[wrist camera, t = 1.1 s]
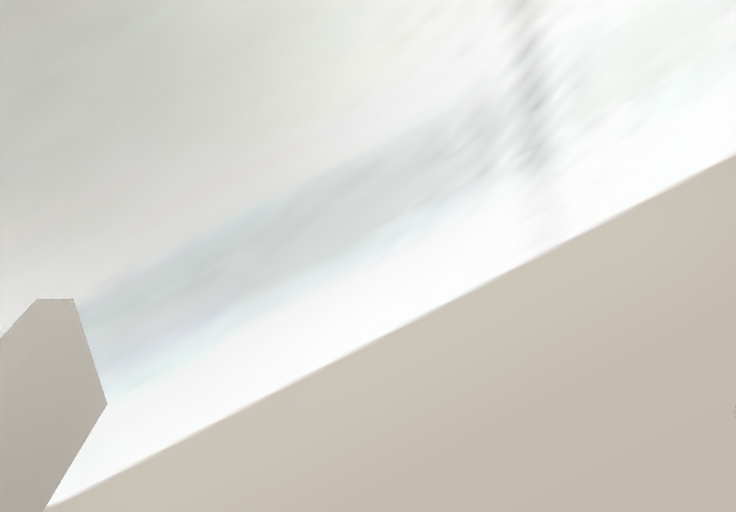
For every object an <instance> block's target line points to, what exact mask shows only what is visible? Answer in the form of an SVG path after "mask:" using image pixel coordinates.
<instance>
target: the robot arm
mask: <svg viewBox="0 0 736 512" xmlns="http://www.w3.org/2000/svg"><path fill="white" fill-rule="evenodd" d="M106 405H107V402H106V399H105V396H104V393H103V390H102V387H101V383H100V380H99V377H98V374H97V371H96V368H95V365H94V362H93V359H92V356H91V353H90V349H89V346H88V343H87V340H86V337H85V334H84V331H83V328H82V325H81V322H80V319H79V315H78V312H77V309H76V306H75V303H74V300H73V299H36V300H35V301H34V302H33V304H32V305H31V306H30V307H29V308H28V309H27V310H26V311H25V312H24V313H23V315H22V316H21V317H20V318H19V319H18V320H17V321H16V322H15V323H14V324H13V326H12V327H11V328H10V329H9V330H8V331H7V332H6V333H5V334H4V335H3V337H2V338H1V339H0V512H43V510H44V509H45V507H46V505H47V504H48V502H49V500H50V499H51V497H52V495H53V493H54V492H55V490H56V488H57V487H58V485H59V483H60V482H61V480H62V478H63V477H64V475H65V473H66V472H67V470H68V468H69V467H70V465H71V463H72V462H73V460H74V458H75V457H76V455H77V453H78V452H79V450H80V448H81V447H82V445H83V443H84V442H85V440H86V438H87V437H88V435H89V433H90V432H91V430H92V428H93V427H94V425H95V423H96V422H97V420H98V418H99V417H100V415H101V413H102V412H103V410H104V408H105V407H106ZM734 414H735V416H736V407H735V411H734Z"/></svg>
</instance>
